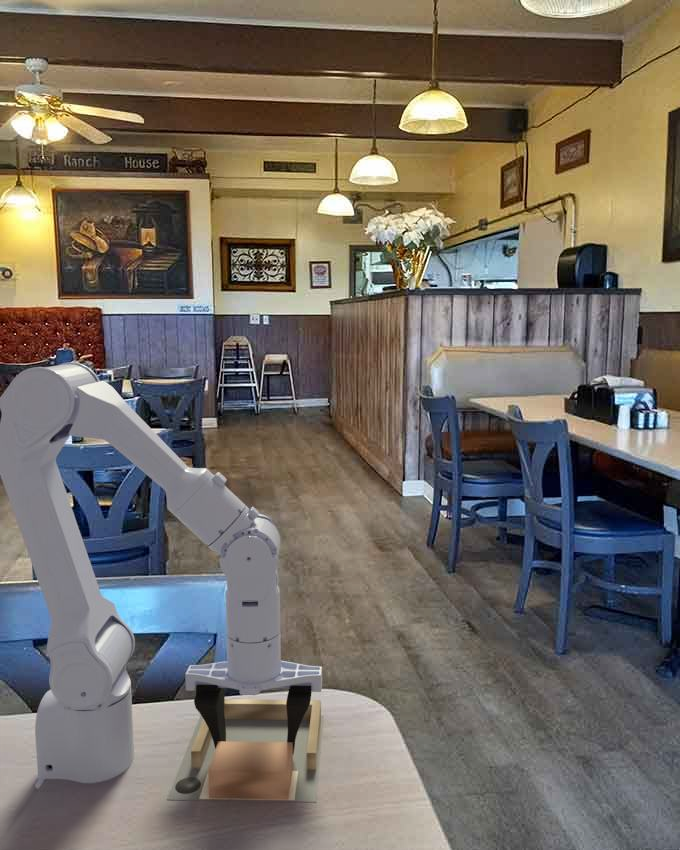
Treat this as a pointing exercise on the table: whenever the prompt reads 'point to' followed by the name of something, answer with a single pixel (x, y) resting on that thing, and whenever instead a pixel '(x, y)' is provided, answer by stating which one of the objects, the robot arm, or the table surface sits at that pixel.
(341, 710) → the table surface
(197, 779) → the floor board
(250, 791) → the terracotta slab
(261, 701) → the oak cubby
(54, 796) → the table surface
